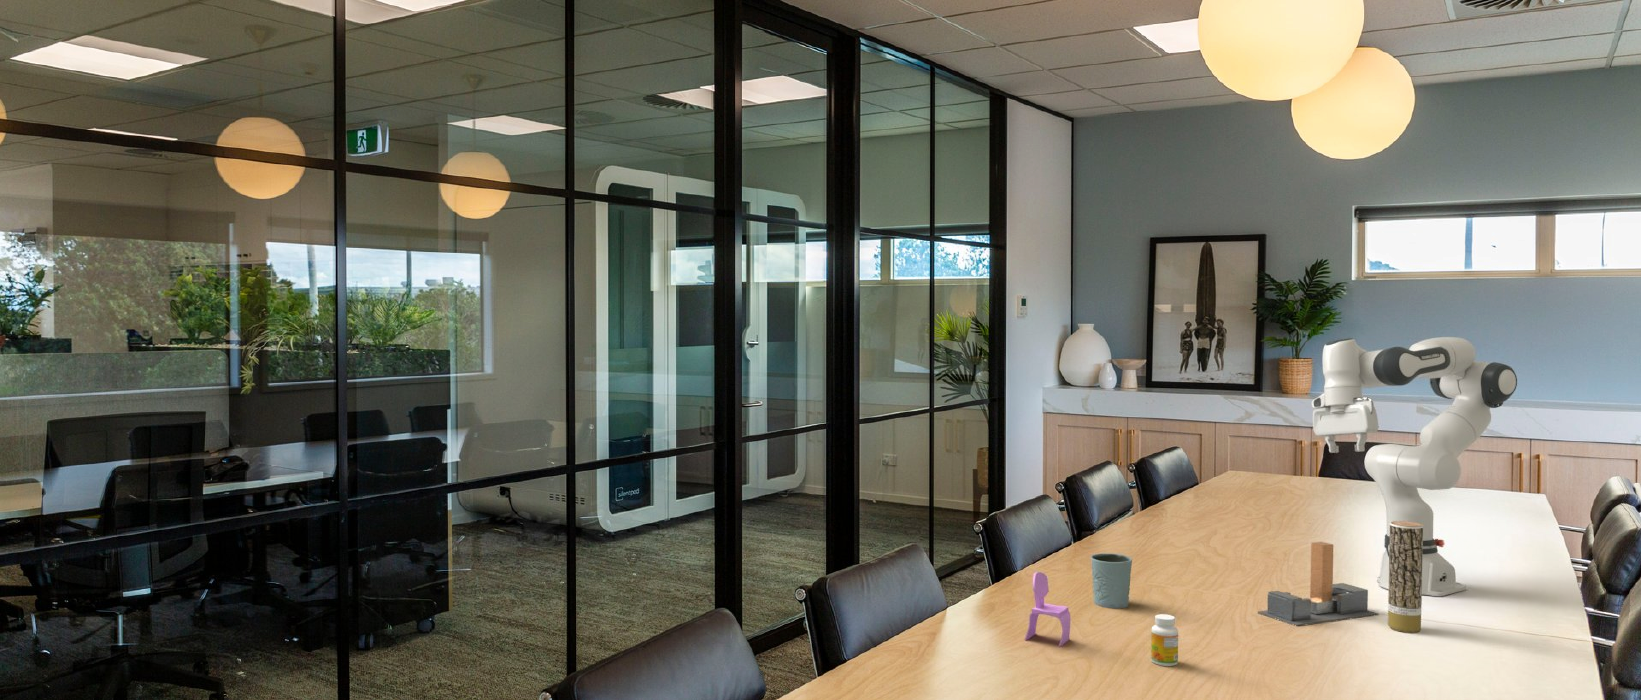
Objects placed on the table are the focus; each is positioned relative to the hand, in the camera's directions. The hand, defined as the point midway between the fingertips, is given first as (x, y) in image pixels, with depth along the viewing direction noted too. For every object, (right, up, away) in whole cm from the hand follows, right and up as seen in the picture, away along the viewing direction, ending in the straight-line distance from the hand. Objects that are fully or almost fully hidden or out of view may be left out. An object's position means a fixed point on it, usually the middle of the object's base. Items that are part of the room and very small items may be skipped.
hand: (1346, 452), depth 269 cm
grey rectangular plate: (-14, -39, -14) cm, 44 cm away
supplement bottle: (-65, -39, -52) cm, 92 cm away
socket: (-23, -39, -18) cm, 48 cm away
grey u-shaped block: (-7, -39, -11) cm, 41 cm away
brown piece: (-10, -38, -12) cm, 41 cm away
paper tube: (0, -39, -27) cm, 47 cm away
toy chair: (-86, -39, -37) cm, 102 cm away
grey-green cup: (-63, -39, -6) cm, 75 cm away
